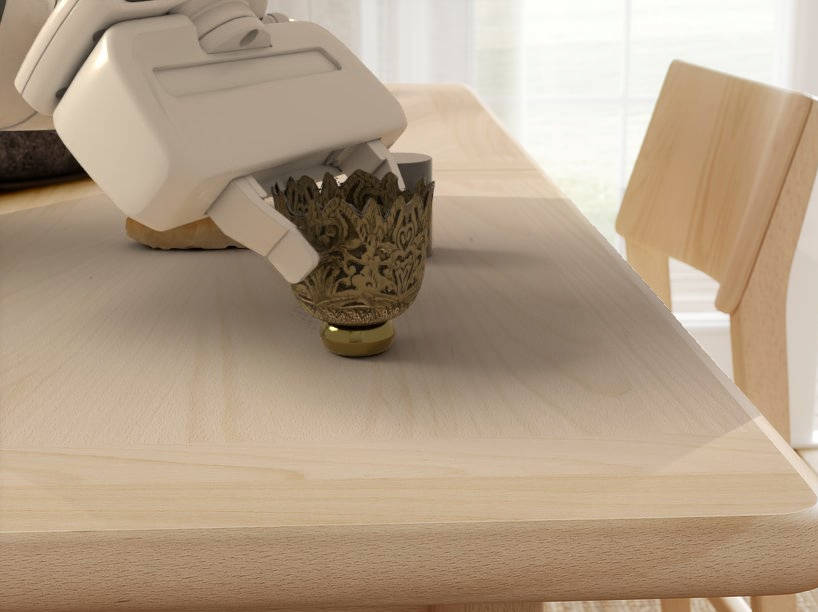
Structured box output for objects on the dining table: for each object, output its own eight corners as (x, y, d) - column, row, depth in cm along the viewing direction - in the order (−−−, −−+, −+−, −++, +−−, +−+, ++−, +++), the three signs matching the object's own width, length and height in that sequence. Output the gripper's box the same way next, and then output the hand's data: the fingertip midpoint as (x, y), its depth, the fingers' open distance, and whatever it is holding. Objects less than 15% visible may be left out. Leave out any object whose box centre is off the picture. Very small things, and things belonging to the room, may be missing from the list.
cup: (249, 349, 56) (237, 182, 53) (360, 317, 61) (355, 163, 58) (355, 385, 52) (349, 204, 49) (466, 347, 57) (467, 181, 54)
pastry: (131, 257, 74) (125, 196, 72) (123, 236, 80) (117, 179, 78) (278, 246, 77) (275, 187, 75) (260, 226, 83) (257, 171, 81)
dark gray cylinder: (358, 260, 73) (355, 162, 71) (370, 244, 77) (368, 151, 75) (428, 261, 73) (427, 164, 71) (436, 246, 77) (436, 152, 75)
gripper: (259, 56, 65) (420, 245, 65) (-17, 91, 48) (201, 349, 48) (325, -31, 62) (495, 169, 62) (52, -27, 44) (288, 251, 44)
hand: (365, 248), depth 55 cm, fingers open, 8 cm apart
